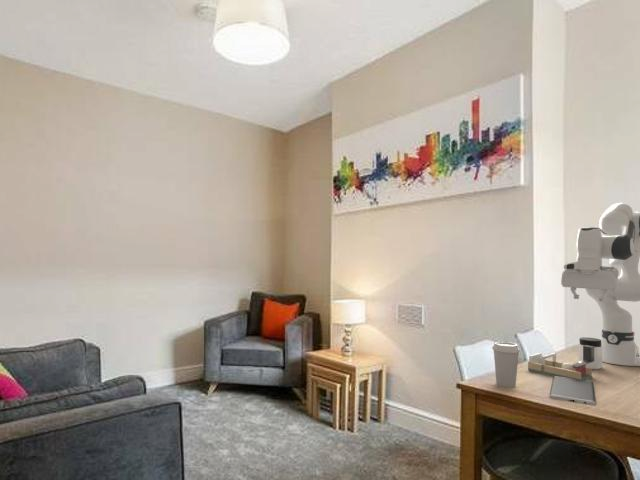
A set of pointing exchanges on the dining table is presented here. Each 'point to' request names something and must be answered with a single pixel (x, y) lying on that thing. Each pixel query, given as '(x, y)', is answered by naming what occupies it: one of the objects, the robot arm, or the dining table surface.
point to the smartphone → (573, 390)
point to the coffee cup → (506, 363)
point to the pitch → (554, 367)
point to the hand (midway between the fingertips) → (588, 299)
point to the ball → (567, 366)
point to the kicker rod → (585, 359)
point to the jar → (597, 352)
